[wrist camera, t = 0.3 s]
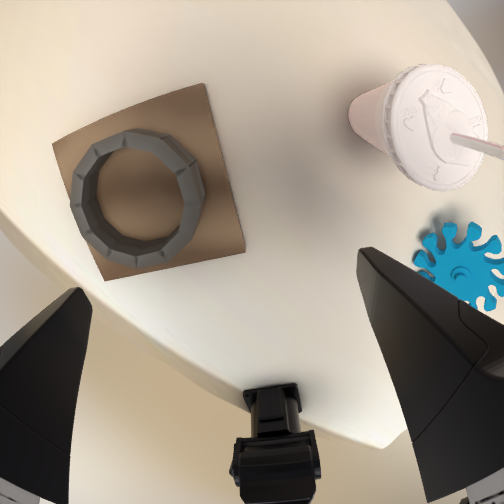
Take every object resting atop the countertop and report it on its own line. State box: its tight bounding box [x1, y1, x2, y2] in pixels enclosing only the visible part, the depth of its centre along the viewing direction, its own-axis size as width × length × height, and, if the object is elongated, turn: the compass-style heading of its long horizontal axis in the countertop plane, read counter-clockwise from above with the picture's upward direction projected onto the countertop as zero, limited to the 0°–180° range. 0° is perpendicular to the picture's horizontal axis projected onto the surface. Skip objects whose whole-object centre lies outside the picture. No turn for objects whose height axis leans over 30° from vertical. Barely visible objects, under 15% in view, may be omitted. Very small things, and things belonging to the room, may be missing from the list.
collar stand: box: [52, 83, 246, 281], centre depth 20 cm, size 13×13×4 cm
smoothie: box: [348, 64, 504, 191], centre depth 13 cm, size 6×6×14 cm
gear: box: [414, 222, 504, 311], centre depth 22 cm, size 11×6×10 cm
